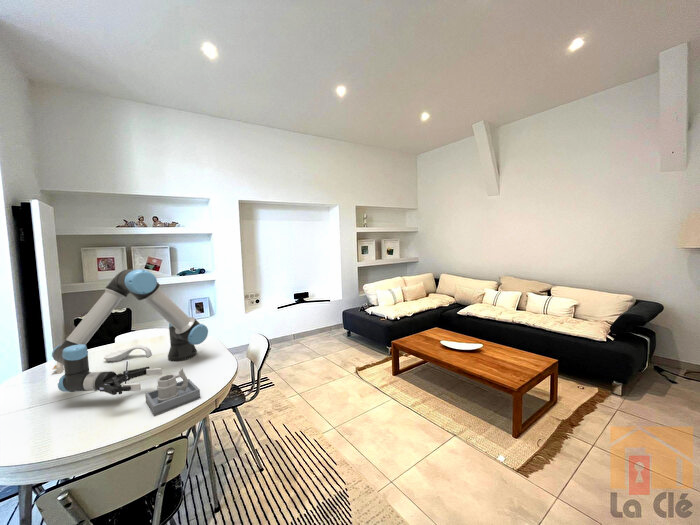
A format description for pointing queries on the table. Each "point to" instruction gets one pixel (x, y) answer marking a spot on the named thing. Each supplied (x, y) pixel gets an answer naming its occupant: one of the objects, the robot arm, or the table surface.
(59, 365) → the architectural model
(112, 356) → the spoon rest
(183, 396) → the box
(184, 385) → the mug
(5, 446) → the table surface
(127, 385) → the robot arm
